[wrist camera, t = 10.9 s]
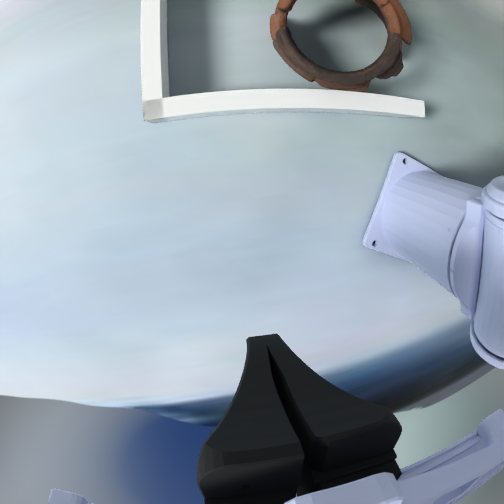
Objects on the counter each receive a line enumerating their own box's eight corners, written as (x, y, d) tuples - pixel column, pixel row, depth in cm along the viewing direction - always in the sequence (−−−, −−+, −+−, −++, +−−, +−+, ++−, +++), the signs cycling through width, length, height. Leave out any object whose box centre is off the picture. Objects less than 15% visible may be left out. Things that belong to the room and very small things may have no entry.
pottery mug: (403, 89, 20) (423, 105, 13) (291, 84, 23) (262, 98, 17) (391, -41, 12) (402, -77, 6) (275, -40, 16) (239, -71, 9)
